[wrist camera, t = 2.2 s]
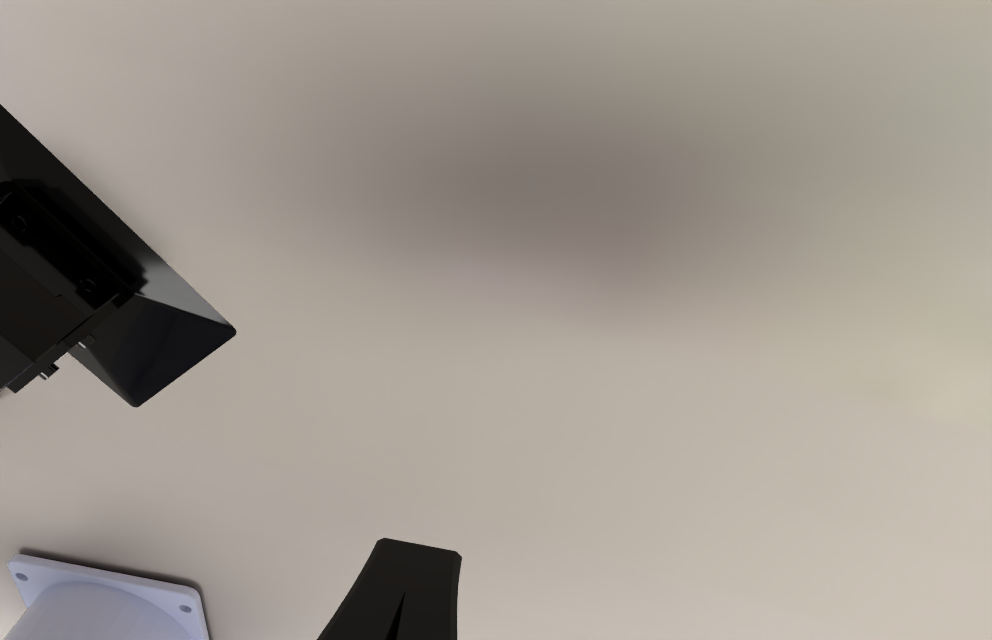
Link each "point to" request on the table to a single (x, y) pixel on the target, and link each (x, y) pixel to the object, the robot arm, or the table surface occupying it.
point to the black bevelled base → (87, 284)
